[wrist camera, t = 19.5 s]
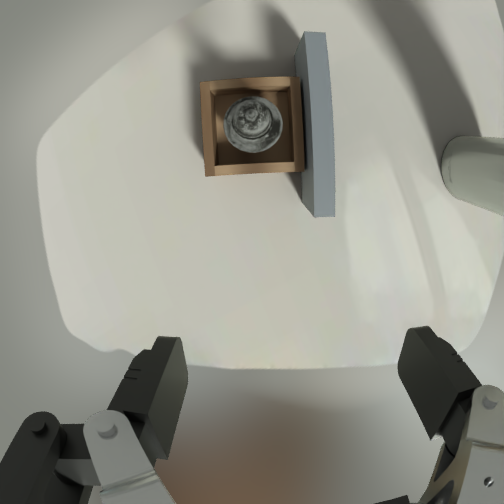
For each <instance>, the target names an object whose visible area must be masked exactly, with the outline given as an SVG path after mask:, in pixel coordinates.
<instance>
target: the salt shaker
mask: <svg viewBox="0 0 504 504" xmlns="http://www.w3.org/2000/svg"><path fill="white" fill-rule="evenodd" d="M282 126H283V121H282V117H281V114H280V112H279V110H278V108H277V107H276V106H275V105H274V104H273V103H272V102H270V101H269V100H267V99H265V98H262V97H258V96H249V97H244V98H241V99H239V100H237V101H236V102H234V103H233V104H232V105H231V106H230V107H229V109H228V110H227V112H226V114H225V117H224V123H223V128H224V132H225V135H226V137H227V139H228V141H229V142H230V143H231V144H232V145H233V146H234V147H236V148H238V149H239V150H242V151H245V152H252V153H256V152H261V151H264V150H266V149H268V148H270V147H271V146H273V145H274V144H275V143H276V142H277V140H278V139H279V137H280V135H281V132H282Z"/></svg>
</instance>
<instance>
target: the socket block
mask: <svg viewBox="0 0 504 504" xmlns="http://www.w3.org/2000/svg"><path fill="white" fill-rule="evenodd" d="M249 96H258V97H262V98H265V99H267V100H269V101H270V102H272V103H273V104H274V105H275V106H276V107H277V108H278V110H279V112H280V114H281V117H282V121H283V126H282V132H281V135H280V137H279V139H278V140H277V142H276V143H275V144H274V145H273V146H271V147H270V148H268V149H266V150H264V151H261V152H256V153H252V152H245V151H242V150H239V149H238V148H236V147H234V146H233V145H232V144H231V143H230V142H229V141H228V139H227V137H226V135H225V132H224V128H223V123H224V117H225V114H226V112H227V110H228V109H229V107H230V106H231V105H232V104H233V103H234V102H236V101H237V100H239V99H241V98H244V97H249ZM200 98H201V117H202V134H203V150H204V164H205V177H207V176H220V175H235V174H252V173H275V172H305V168H304V142H303V122H302V105H301V90H300V77H254V78H238V79H225V80H215V81H206V82H200Z"/></svg>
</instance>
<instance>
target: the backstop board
mask: <svg viewBox="0 0 504 504" xmlns="http://www.w3.org/2000/svg"><path fill="white" fill-rule="evenodd" d="M294 57H295V68H296V77H300V90H301V105H302V122H303V142H304V168H305V172H301V179H302V203H303V204H304V205H305V207H306V208H307V209H308V210H309V211H310V213H311V214H312V215H313V216H314V217H335V154H334V128H333V110H332V95H331V82H330V71H329V61H328V51H327V42H326V34H325V33H323V32H304V33H303V36H302V38H301V41H300V43H299V46H298V48H297V51H296V53H295V55H294Z"/></svg>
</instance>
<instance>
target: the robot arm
mask: <svg viewBox="0 0 504 504" xmlns="http://www.w3.org/2000/svg"><path fill="white" fill-rule="evenodd" d="M441 168H442V176H443V180H444V183H445V186H446V188H447V189H448V191H449V192H450V193H451V194H452V196H454V197H455V198H457V199H459V200H462V201H465V202H468V203H470V204H473V205H475V206H478V207H481V208H483V209H486V210H489V211H491V212H494V213H496V214H499V215H502V216H504V138H495V137H478V136H458V137H456V138H454V139H453V140H451V141H450V142H449V144H448V145H447V146H446V148H445V150H444V153H443V157H442V165H441ZM398 374H399V377H400V379H401V381H402V383H403V385H404V387H405V389H406V390H407V393H408V395H409V397H410V399H411V401H412V403H413V405H414V407H415V409H416V411H417V413H418V415H419V417H420V419H421V421H422V423H423V425H424V427H425V429H426V432H427V434H428V436H429V438H430V440H435V439H438V438H441V437H443V439H444V443H443V444H442V446H441V449H440V452H439V455H438V458H437V461H436V464H435V467H434V471H433V473H432V476H431V479H430V482H429V484H428V486H427V489H426V490H425V492H424V494H423V495H422V497H421V498H420V500H419V501H418V503H409V499H408V496H407V495H405V496H402V497H398V498H395V499H392V500H387V501H383V502H379V503H375V504H504V393H503V391H502V390H500V389H499V388H497V387H495V386H492V385H483V386H482V384H481V383H480V382H479V380H478V379H477V378H476V376H475V375H474V374H473V373H472V371H471V370H470V368H469V367H468V366H467V365H466V363H465V362H463V360H462V358H461V357H460V356H459V355H457V352H456V351H455V349H454V348H453V347H452V346H451V344H449V343H448V342H446V341H445V340H443V339H442V338H440V337H437V335H436V334H435V333H434V332H433V331H432V329H431V328H430V327H429V326H423V327H416V328H410V329H408V331H407V333H406V336H405V340H404V343H403V347H402V351H401V354H400V357H399V361H398ZM187 385H188V371H187V366H186V361H185V356H184V351H183V346H182V341H181V338H180V337H164V336H158V337H157V339H156V341H155V343H154V345H153V347H152V349H151V350H146V349H144V350H143V351H142V352H140V353H139V354H138V355H137V356H136V357H135V358H134V359H133V360H132V362H131V364H130V366H129V368H128V371H127V372H126V374H125V375H124V379H122V381H121V383H120V385H119V387H118V389H117V391H116V393H115V395H114V397H113V399H112V401H111V403H110V405H109V407H108V409H107V410H104V411H100V412H97V413H95V414H93V415H92V416H91V417H90V418H88V419H87V421H86V423H85V424H60V423H59V421H58V420H57V418H56V417H55V416H54V415H53V414H51V413H49V412H36V413H33V414H32V415H30V416H29V417H27V418H26V419H25V420H24V422H23V423H22V425H21V427H20V428H19V430H18V432H17V434H16V435H15V437H14V439H13V441H12V442H11V444H10V446H9V448H8V450H7V452H6V453H5V455H4V457H3V459H2V461H1V463H0V504H88V501H89V498H90V495H91V491H92V488H93V486H94V485H95V486H96V485H97V486H102V491H100V497H101V501H102V503H103V504H175V502H174V500H173V499H172V497H171V496H170V494H169V493H168V491H167V489H166V488H165V487H164V485H163V483H162V481H161V480H160V478H159V476H158V475H157V473H156V471H155V469H154V466H155V462H156V459H157V458H159V459H166V460H168V457H169V453H170V449H171V445H172V441H173V437H174V434H175V430H176V426H177V422H178V419H179V414H180V411H181V408H182V404H183V400H184V397H185V393H186V389H187Z"/></svg>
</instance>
